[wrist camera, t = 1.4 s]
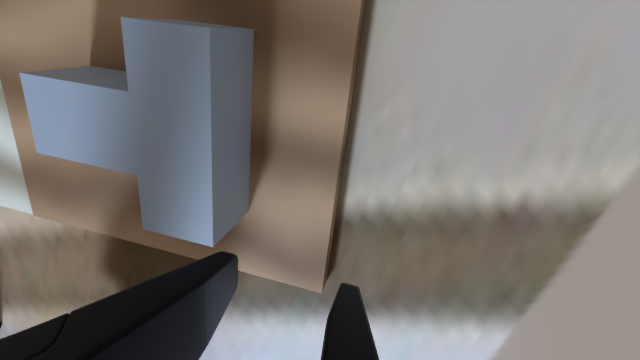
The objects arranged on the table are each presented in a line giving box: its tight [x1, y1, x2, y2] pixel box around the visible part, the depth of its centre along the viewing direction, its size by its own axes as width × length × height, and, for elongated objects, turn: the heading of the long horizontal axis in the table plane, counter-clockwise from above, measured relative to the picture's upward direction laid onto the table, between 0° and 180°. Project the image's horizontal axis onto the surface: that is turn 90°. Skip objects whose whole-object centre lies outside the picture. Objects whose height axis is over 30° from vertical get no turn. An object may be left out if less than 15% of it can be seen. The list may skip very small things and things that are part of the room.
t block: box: [19, 17, 254, 247], centre depth 19 cm, size 10×10×4 cm
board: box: [0, 0, 366, 293], centre depth 21 cm, size 19×33×4 cm, turn 83°
